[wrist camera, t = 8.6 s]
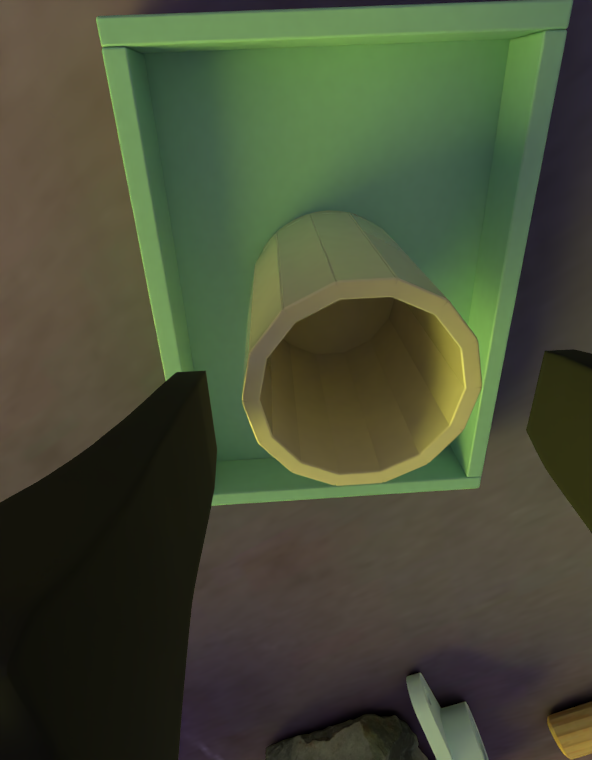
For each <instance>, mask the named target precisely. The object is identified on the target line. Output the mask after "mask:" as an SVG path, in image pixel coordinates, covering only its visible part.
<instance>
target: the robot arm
mask: <svg viewBox="0 0 592 760" xmlns="http://www.w3.org/2000/svg"><path fill="white" fill-rule="evenodd" d="M526 431H527V433H528V435H529V437H530V439H531V441H532V443H533V445H534V447H535V450H536V452H537V453H538V455H539V457H540V459H541V461H542V463H543V465H544V466H545V468H546V470H547V471H548V473H549V474H550V476H551V477H552V478H553V480H554V481H555V483H556V484H557V486H558V487H559V488H560V490H561V491H562V493H563V494H564V495H565V497H566V498H567V500H568V501H569V502H570V504H571V505H572V506H573V508H574V509H575V511H576V512H577V513H578V515H579V516H580V517H581V519H582V520H583V522H584V523H585V524H586V526H587V527H588V528H589V530H590V531H591V533H592V354H590V353H586V352H582V351H578V350H555V351H545V353H544V357H543V361H542V365H541V370H540V374H539V378H538V382H537V387H536V391H535V395H534V400H533V404H532V408H531V412H530V417H529V421H528V425H527V429H526ZM216 461H217V444H216V437H215V431H214V424H213V417H212V410H211V403H210V396H209V389H208V383H207V376H206V370H205V371H188V372H176V373H175V374H174V375H172V376H171V377H170V378H169V379H168V380H167V381H166V382H165V383H164V384H162V385H161V386H160V387H159V388H158V389H157V390H156V391H155V392H154V393H153V394H152V395H151V396H150V397H148V398H147V399H146V400H145V401H144V402H143V403H142V404H141V405H140V406H138V407H137V408H136V409H135V410H134V411H133V412H132V413H131V414H130V415H128V416H127V417H126V418H125V419H124V420H123V421H121V422H120V423H119V424H118V425H116V426H115V427H114V428H113V429H111V430H110V431H109V432H108V433H106V434H105V435H104V436H103V437H101V438H100V439H99V440H98V441H96V442H95V443H94V444H93V445H91V446H90V447H89V448H87V449H86V450H85V451H83V452H82V453H81V454H79V455H78V456H76V457H75V458H73V459H72V460H71V461H69V462H68V463H66V464H64V465H63V466H61V467H60V468H58V469H57V470H55V471H54V472H52V473H51V474H49V475H48V476H46V477H44V478H43V479H41V480H40V481H38V482H36V483H34V484H33V485H31V486H29V487H27V488H26V489H24V490H22V491H20V492H18V493H17V494H15V495H13V496H11V497H9V498H8V499H6V500H4V501H2V502H0V760H178V754H179V741H180V727H181V714H182V702H183V691H184V680H185V669H186V657H187V647H188V637H189V627H190V617H191V608H192V600H193V594H194V588H195V582H196V577H197V572H198V567H199V563H200V558H201V553H202V548H203V543H204V538H205V534H206V529H207V524H208V519H209V514H210V509H211V504H212V499H213V494H214V489H215V476H216Z"/></svg>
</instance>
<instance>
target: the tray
mask: <svg viewBox="0 0 592 760" xmlns="http://www.w3.org/2000/svg"><path fill="white" fill-rule="evenodd" d="M572 4H573V0H518V1H491V2H464V3H437V4H410V5H383V6H356V7H329V8H302V9H275V10H248V11H221V12H194V13H167V14H140V15H113V16H98V17H97V18H96V22H97V27H98V32H99V37H100V42H101V45H102V46H103V47H104V48H102V54H103V59H104V64H105V69H106V74H107V80H108V85H109V90H110V95H111V100H112V105H113V111H114V116H115V121H116V126H117V131H118V137H119V142H120V147H121V152H122V157H123V163H124V168H125V173H126V178H127V183H128V188H129V194H130V199H131V204H132V209H133V214H134V220H135V225H136V230H137V235H138V240H139V245H140V251H141V256H142V261H143V266H144V271H145V277H146V282H147V287H148V292H149V297H150V302H151V308H152V313H153V318H154V323H155V328H156V334H157V339H158V344H159V349H160V354H161V359H162V365H163V370H164V375H165V380H166V381H167V380H168V379H169V378H170V377H171V376H172V375H174V374H175V373H176V372H188V371H205V370H206V376H207V383H208V389H209V396H210V403H211V410H212V417H213V424H214V431H215V437H216V444H217V461H216V476H215V489H214V494H213V499H212V504H211V506H214V505H229V504H244V503H259V502H275V501H290V500H305V499H320V498H336V497H351V496H366V495H381V494H397V493H412V492H427V491H442V490H458V489H473V488H479V486H480V481H481V475H482V471H483V466H484V460H485V455H486V450H487V445H488V440H489V434H490V429H491V424H492V419H493V414H494V409H495V403H496V398H497V393H498V388H499V383H500V377H501V372H502V367H503V362H504V357H505V352H506V346H507V341H508V336H509V331H510V326H511V320H512V315H513V310H514V305H515V300H516V295H517V289H518V284H519V279H520V274H521V269H522V263H523V258H524V253H525V248H526V243H527V238H528V232H529V227H530V222H531V217H532V212H533V206H534V201H535V196H536V191H537V186H538V181H539V175H540V170H541V165H542V160H543V155H544V149H545V144H546V139H547V134H548V129H549V123H550V118H551V113H552V108H553V103H554V98H555V92H556V87H557V82H558V77H559V72H560V66H561V61H562V56H563V51H564V46H565V41H566V35H567V31H566V30H564V29H566V28H567V27H568V25H569V20H570V15H571V9H572ZM327 210H334V211H344V212H350V213H353V214H356V215H359V216H361V217H363V218H366V219H368V220H369V221H371V222H372V223H374V224H375V225H377V226H379V227H381V228H382V229H384V230H385V232H386V233H387V234H388V235H389V236H390V237H391V238H392V239H393V240H394V241H395V242H396V243H397V245H398V246H399V247H400V248H401V249H402V250H403V251H404V252H405V253H406V254H407V255H408V256H409V258H410V259H411V260H412V261H413V262H414V263H415V264H416V265H417V266H418V267H419V268H420V269H421V271H422V272H423V273H424V274H425V275H426V276H427V277H428V278H429V279H430V280H431V281H432V282H433V284H434V285H435V286H436V287H437V288H438V289H439V290H440V291H441V292H442V293H443V294H444V295H445V296H446V298H447V299H448V300H449V301H450V302H451V303H452V305H453V306H454V308H455V309H456V310H457V312H458V313H459V314H460V316H461V317H462V318H463V320H464V321H465V322H466V324H467V325H468V326H469V328H470V329H471V330H472V332H473V333H474V334H475V336H476V337H477V340H478V343H479V354H480V365H481V377H482V389H481V391H480V394H479V396H478V398H477V401H476V403H475V405H474V408H473V410H472V412H471V415H470V417H469V419H468V422H467V424H466V426H465V429H464V430H463V431H462V433H460V434H459V435H458V436H457V437H456V438H455V439H454V440H453V441H452V442H451V443H450V444H449V445H448V446H447V447H446V448H445V449H444V450H442V451H441V452H440V453H439V454H438V455H437V456H436V457H435V458H434V459H433V460H432V461H431V462H430V463H428V464H427V465H424V466H422V467H420V468H417V469H415V470H413V471H410V472H408V473H406V474H403V475H401V476H398V477H396V478H394V479H391V480H389V481H387V482H383V483H374V484H359V485H343V486H336V485H331V484H328V483H324V482H321V481H318V480H314V479H311V478H308V477H305V476H301V475H298V474H295V473H292V472H290V471H289V470H288V469H287V468H286V467H285V466H283V465H282V464H281V463H280V462H279V461H278V460H276V459H275V458H274V457H273V456H272V455H271V454H270V453H268V452H267V451H266V450H265V449H264V448H263V447H261V446H260V445H259V443H258V442H257V441H256V438H255V436H254V433H253V430H252V428H251V425H250V423H249V420H248V417H247V415H246V412H245V410H244V407H243V404H242V399H241V397H242V385H243V373H244V361H245V348H246V336H247V324H248V311H249V299H250V292H251V285H252V277H253V272H254V265H255V263H256V261H257V259H258V257H259V255H260V253H261V251H262V249H263V248H264V246H265V245H266V243H267V242H268V241H269V239H270V238H271V237H272V236H273V235H274V234H275V233H276V232H277V231H278V230H279V229H281V228H282V227H283V226H285V225H286V224H287V223H289V222H291V221H293V220H294V219H296V218H299V217H301V216H304V215H306V214H310V213H314V212H318V211H327Z"/></svg>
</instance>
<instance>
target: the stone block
mask: <svg viewBox="0 0 592 760" xmlns="http://www.w3.org/2000/svg"><path fill="white" fill-rule="evenodd" d="M418 745H419V743H418V740H417V736H416V735H415V734H414V733H413V732H412V731H411V729H410V727H409V726H408V725H407V723H406V722H404V721H402V720H400V719H399V718H398V717H397V716H395V715H393V716H390V717H380V716H378V715H375V714H365V715H362V716H361V717H358V718H356V719H354V720H348V721H346V722H343V723H341V724H337V725H334V726H329V727H327V728H326V729H324V730H321V731H315V732H312V733H311V734H302V735H298V736H295V737H293V738H288V739H285V740H282V741H280V742H279V743H277V744H274V745H271V746H268V747H267V748H266V759H265V760H428V758H427V757H426V756H425V755H424V754H423V753H422V752H421V750H420V749H419V748H418Z"/></svg>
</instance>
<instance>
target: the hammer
mask: <svg viewBox="0 0 592 760" xmlns="http://www.w3.org/2000/svg"><path fill="white" fill-rule="evenodd" d="M547 724H548V727H549V729H550V731H551V733H552V736H553V738H554V740H555V741H556V743H557V745H558V747H559V748H560V750H561V751H562V753H563V754H564V755H565V756H567V757H568V758H569V759H570V760H572V759H575V758H579V757H582V756H585V755H588V754H591V753H592V701H591V702H588V703H585V704H582V705H579V706H576V707H573V708H570V709H567V710H564V711H561V712H558V713H555V714H552V715H549V716H548V720H547Z"/></svg>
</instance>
